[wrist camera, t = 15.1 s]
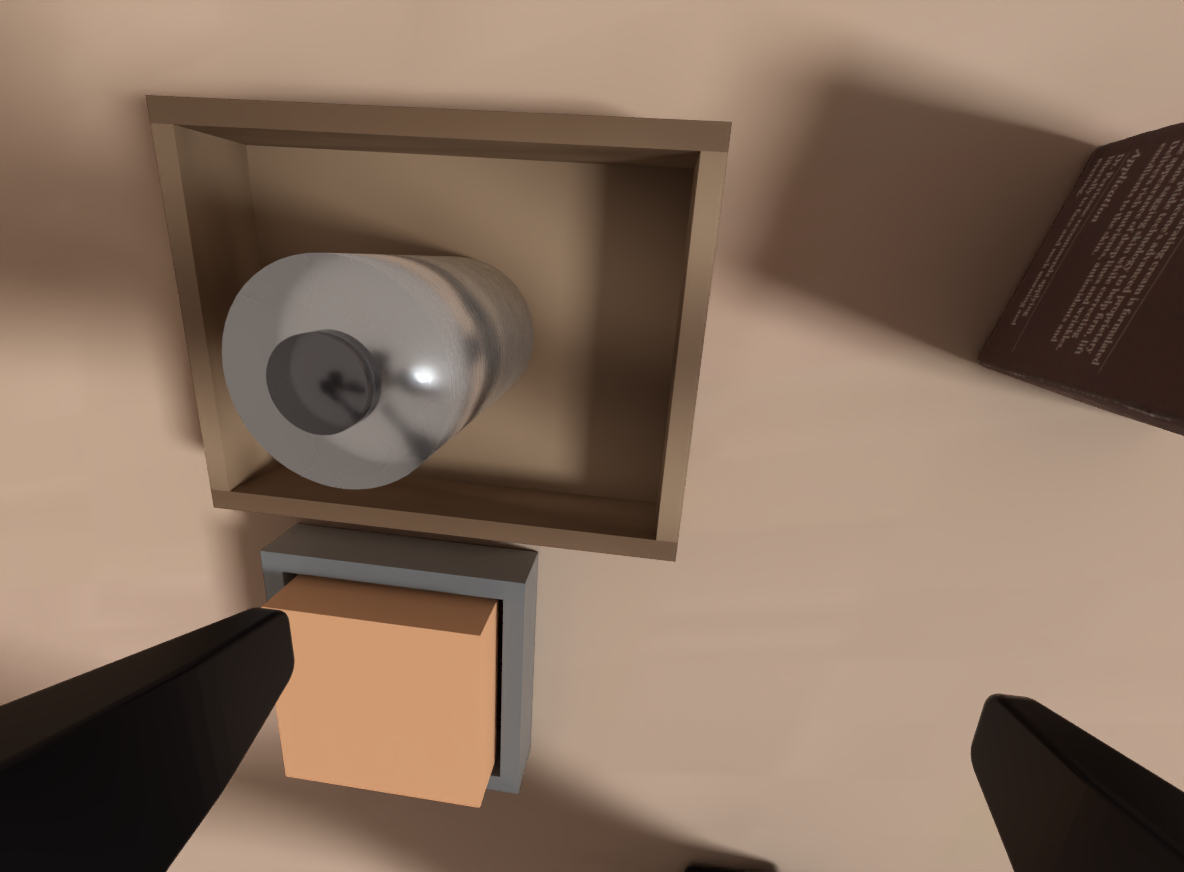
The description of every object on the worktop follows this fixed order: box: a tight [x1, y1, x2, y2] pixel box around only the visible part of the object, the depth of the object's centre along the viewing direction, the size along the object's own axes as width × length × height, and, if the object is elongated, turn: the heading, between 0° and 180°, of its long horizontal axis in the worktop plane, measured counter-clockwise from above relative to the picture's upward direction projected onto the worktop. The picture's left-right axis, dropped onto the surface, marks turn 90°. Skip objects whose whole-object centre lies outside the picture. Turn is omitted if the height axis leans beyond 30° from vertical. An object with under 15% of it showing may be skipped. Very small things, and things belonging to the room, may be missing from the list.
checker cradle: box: [260, 524, 538, 794], centre depth 20 cm, size 9×9×2 cm
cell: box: [222, 253, 534, 490], centre depth 13 cm, size 4×4×8 cm
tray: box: [146, 95, 732, 562], centre depth 16 cm, size 11×14×3 cm
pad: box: [261, 574, 499, 808], centre depth 19 cm, size 7×7×2 cm
